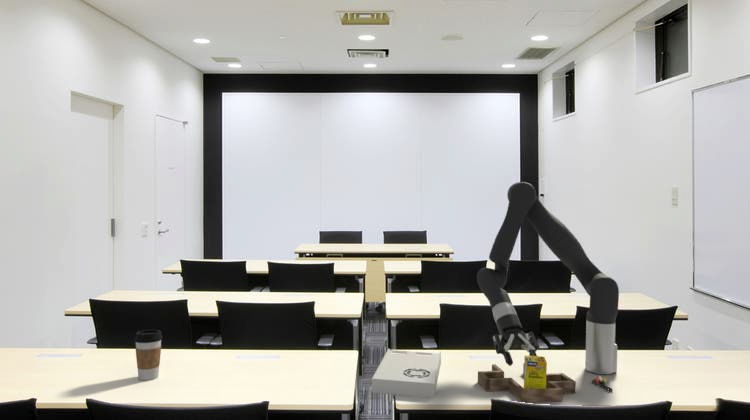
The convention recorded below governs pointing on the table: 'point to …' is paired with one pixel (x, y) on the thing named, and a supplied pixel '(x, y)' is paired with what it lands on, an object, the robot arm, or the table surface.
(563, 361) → the table surface
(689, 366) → the table surface
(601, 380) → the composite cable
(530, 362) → the supplement box
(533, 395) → the trap lane
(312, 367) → the table surface
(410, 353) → the white flat box
